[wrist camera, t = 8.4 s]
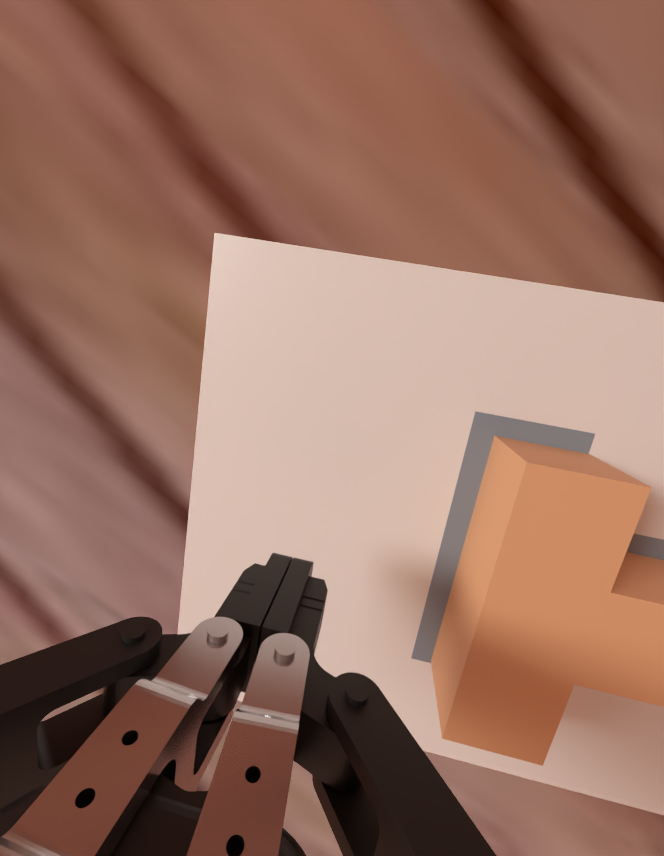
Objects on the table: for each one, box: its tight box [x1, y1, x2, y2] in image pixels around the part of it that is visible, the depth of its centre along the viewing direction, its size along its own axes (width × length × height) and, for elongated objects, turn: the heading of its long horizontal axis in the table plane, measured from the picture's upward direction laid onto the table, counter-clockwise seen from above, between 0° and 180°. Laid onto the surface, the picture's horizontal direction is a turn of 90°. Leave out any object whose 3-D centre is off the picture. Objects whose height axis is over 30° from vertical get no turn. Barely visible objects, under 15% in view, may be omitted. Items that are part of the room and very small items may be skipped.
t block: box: [431, 435, 664, 766], centre depth 16 cm, size 12×12×4 cm
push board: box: [178, 233, 664, 815], centre depth 18 cm, size 30×24×1 cm
